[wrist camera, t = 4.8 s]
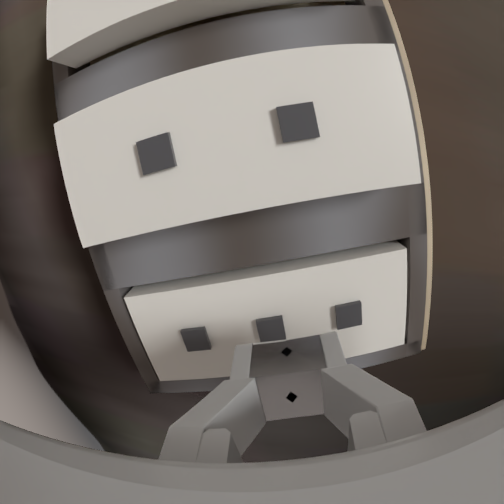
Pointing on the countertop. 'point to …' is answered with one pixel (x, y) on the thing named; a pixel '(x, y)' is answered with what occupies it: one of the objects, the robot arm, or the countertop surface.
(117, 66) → the key panel
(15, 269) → the countertop surface
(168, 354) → the key three
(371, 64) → the key two
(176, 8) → the key one
